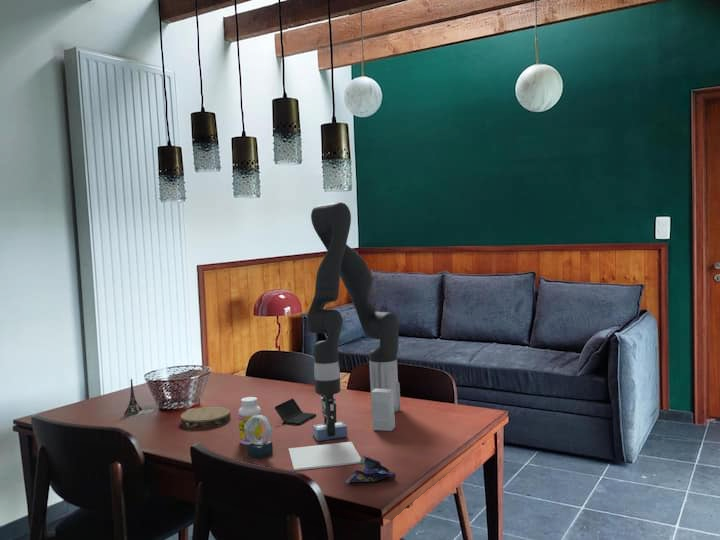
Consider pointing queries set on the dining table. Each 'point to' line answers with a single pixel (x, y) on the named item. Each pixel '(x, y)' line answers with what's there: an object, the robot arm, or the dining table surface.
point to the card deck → (322, 433)
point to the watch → (258, 446)
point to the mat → (323, 456)
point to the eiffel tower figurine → (135, 406)
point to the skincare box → (383, 409)
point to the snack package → (370, 471)
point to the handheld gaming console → (292, 413)
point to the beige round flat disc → (205, 417)
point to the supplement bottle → (245, 413)
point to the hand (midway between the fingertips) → (329, 432)
